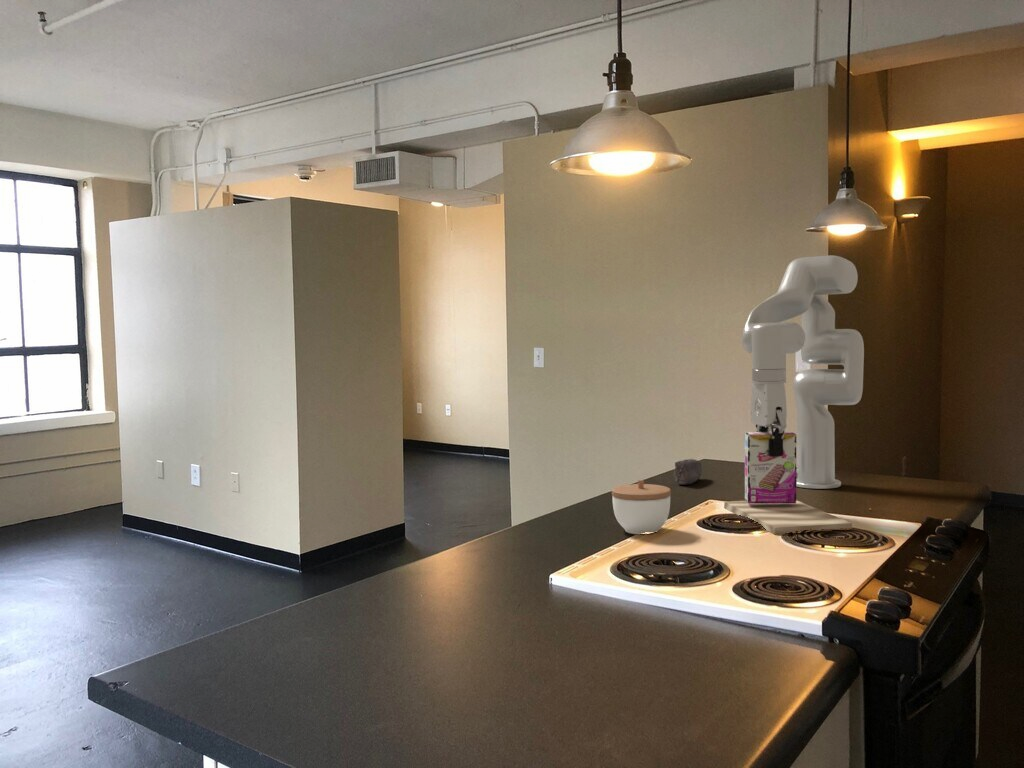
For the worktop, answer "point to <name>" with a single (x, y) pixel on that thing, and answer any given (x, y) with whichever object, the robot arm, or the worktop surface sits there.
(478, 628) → the worktop surface
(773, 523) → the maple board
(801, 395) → the robot arm
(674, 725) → the worktop surface
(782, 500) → the candy bar box
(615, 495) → the lidded bowl
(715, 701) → the worktop surface
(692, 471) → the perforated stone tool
